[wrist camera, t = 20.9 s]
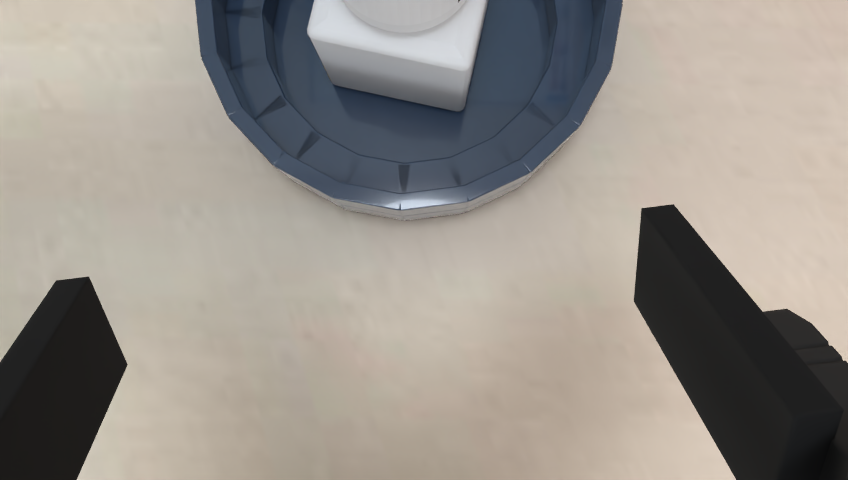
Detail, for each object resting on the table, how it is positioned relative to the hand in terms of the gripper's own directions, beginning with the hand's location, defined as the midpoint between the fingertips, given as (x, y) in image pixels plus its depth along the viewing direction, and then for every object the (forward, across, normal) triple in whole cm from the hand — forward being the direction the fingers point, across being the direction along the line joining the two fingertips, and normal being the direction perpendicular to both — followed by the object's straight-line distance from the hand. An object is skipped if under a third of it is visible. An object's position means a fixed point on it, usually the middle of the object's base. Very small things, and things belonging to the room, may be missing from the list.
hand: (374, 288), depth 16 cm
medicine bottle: (+22, +2, 0) cm, 23 cm away
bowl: (+23, +2, 0) cm, 23 cm away
